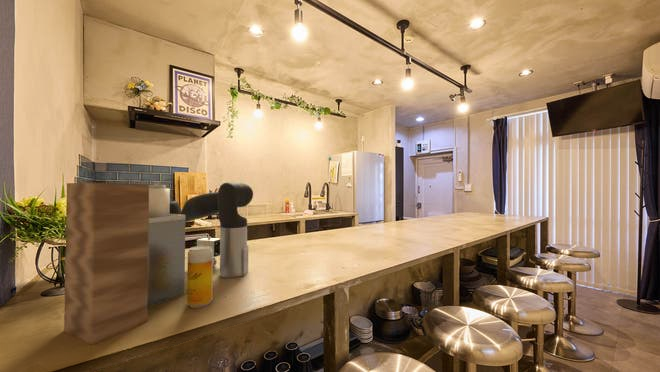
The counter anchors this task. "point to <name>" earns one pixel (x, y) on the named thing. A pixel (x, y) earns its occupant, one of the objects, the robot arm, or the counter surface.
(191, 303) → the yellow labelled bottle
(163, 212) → the white plastic container
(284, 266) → the counter surface
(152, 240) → the tall grey upright block
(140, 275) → the tall wooden block
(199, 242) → the pneumatic valve
